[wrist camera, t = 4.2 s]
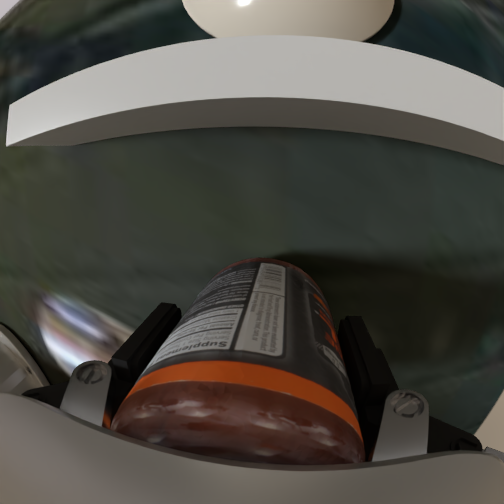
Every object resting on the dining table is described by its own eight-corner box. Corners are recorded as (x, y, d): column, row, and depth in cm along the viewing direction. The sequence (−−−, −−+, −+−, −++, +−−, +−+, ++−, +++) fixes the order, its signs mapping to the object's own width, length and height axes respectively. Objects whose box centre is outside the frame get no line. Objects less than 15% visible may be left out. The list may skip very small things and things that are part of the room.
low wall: (503, 165, 10) (566, 171, 5) (72, 145, 13) (6, 146, 8) (503, 130, 9) (563, 125, 4) (74, 113, 12) (9, 105, 7)
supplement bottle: (338, 350, 13) (376, 580, 2) (226, 374, 14) (161, 574, 3) (310, 235, 12) (400, 562, 1) (182, 272, 13) (-3, 473, 2)
